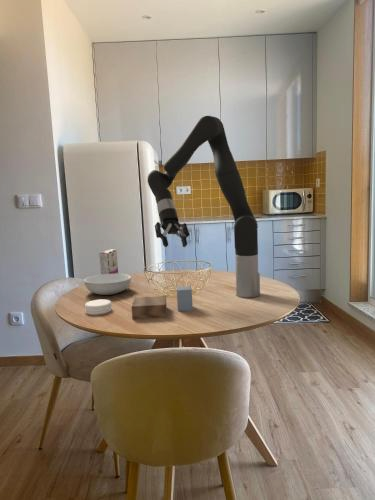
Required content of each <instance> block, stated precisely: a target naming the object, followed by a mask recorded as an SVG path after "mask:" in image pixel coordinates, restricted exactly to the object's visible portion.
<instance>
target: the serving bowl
mask: <svg viewBox="0 0 375 500" xmlns="http://www.w3.org/2000/svg"><path fill="white" fill-rule="evenodd" d="M131 281H132V276H131V275H129V274H126V273H118V274H102V275H101V274H96V275H92V276H88V277H86V278H84V280H83V283H84V286H85V288H86V289H87V290H88V291H89V292H91V293H93V294H97V295H100V296H101V295H102V296H110V295H115V294H118V293H121V292H123V291H126V290H127V289H128V288H129V286H130V285H131Z"/></svg>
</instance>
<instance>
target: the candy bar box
mask: <svg viewBox="0 0 375 500" xmlns="http://www.w3.org/2000/svg"><path fill="white" fill-rule="evenodd" d="M117 252H118V251H117V249H116V248H115V249H114V248H113V249H110V248H109V249H107V250H103V251H101V252H99V253H98V254H99V256H98V257H99V265H100V275H102V274H119V265H118V253H117Z"/></svg>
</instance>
